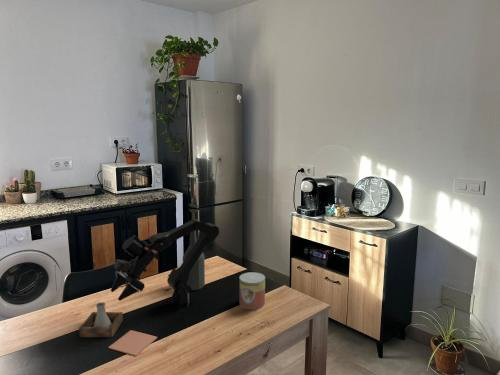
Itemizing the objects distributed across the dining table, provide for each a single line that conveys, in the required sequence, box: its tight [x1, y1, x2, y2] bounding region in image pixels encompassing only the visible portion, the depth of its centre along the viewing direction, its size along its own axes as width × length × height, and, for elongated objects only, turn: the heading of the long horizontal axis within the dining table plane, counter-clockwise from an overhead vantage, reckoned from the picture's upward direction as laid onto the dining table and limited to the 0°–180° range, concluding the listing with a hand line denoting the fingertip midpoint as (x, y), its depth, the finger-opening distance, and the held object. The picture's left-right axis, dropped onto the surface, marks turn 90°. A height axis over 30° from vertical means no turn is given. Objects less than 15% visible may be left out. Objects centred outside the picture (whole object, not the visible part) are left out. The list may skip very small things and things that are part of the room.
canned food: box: [238, 271, 266, 310], centre depth 166 cm, size 11×11×12 cm
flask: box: [92, 302, 113, 327], centre depth 145 cm, size 7×7×10 cm
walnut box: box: [78, 311, 124, 338], centre depth 146 cm, size 12×12×4 cm
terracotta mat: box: [107, 329, 158, 357], centre depth 137 cm, size 12×12×1 cm
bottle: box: [182, 230, 206, 291], centre depth 181 cm, size 10×10×30 cm
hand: (115, 295), depth 147 cm, fingers open, 9 cm apart
